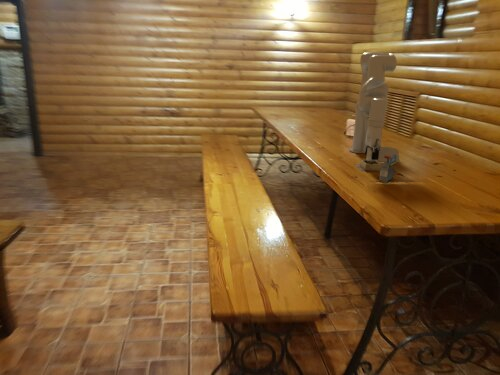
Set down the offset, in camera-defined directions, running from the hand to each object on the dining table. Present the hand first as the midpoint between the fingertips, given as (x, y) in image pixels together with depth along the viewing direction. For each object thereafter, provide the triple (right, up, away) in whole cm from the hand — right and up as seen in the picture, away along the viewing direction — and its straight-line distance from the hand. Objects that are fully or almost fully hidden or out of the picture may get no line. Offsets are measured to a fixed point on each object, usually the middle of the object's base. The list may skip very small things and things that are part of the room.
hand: (371, 157), depth 195 cm
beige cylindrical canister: (0, -6, +2) cm, 6 cm away
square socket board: (+4, -6, +2) cm, 7 cm away
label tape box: (+3, -13, -14) cm, 19 cm away
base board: (+3, -7, +3) cm, 8 cm away
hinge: (+13, -2, +20) cm, 24 cm away
